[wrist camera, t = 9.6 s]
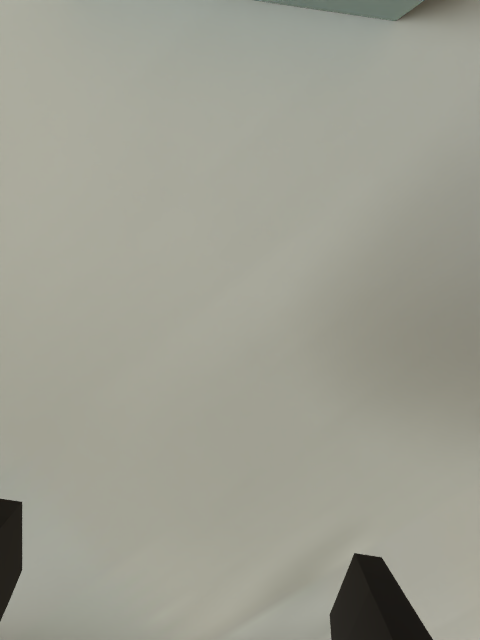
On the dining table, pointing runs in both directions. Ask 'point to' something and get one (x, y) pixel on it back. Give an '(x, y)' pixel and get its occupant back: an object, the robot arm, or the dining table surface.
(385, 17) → the tray
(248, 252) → the dining table surface
